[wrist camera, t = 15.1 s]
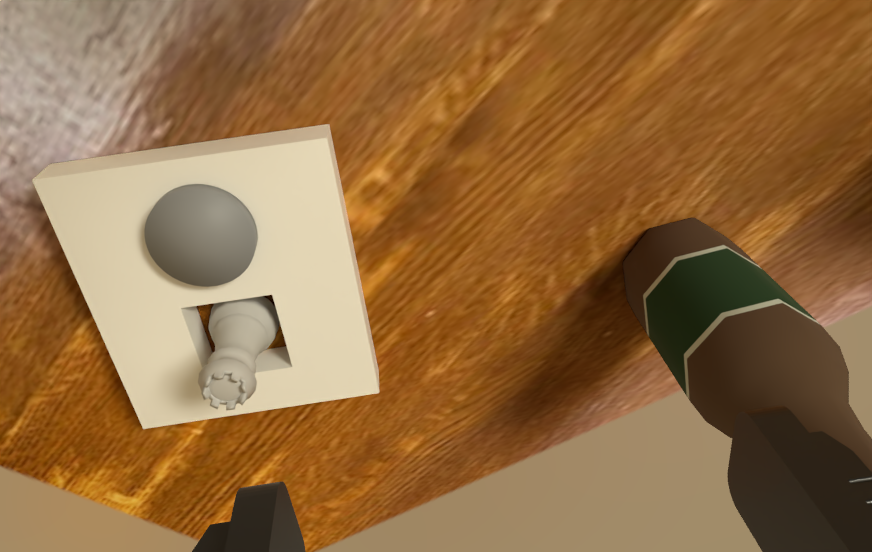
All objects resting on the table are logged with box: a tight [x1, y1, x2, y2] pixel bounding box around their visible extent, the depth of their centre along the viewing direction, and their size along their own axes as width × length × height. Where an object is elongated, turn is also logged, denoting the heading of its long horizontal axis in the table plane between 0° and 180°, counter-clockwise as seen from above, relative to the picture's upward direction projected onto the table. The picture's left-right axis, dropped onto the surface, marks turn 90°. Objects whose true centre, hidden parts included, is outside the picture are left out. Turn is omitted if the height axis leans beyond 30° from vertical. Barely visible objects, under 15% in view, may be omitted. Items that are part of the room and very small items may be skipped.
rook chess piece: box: [198, 296, 280, 411], centre depth 41 cm, size 4×4×8 cm
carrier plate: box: [32, 124, 379, 429], centre depth 42 cm, size 18×16×4 cm
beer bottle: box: [623, 218, 872, 472], centre depth 36 cm, size 8×8×24 cm
